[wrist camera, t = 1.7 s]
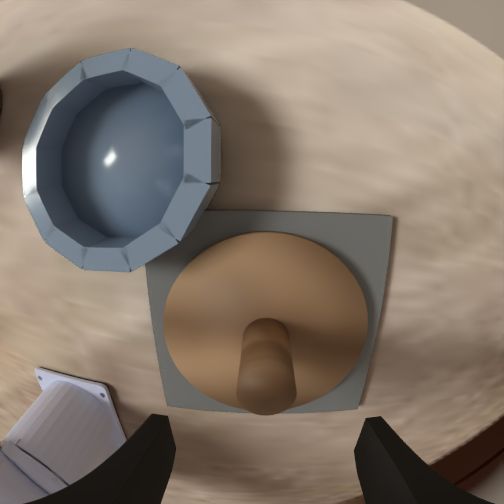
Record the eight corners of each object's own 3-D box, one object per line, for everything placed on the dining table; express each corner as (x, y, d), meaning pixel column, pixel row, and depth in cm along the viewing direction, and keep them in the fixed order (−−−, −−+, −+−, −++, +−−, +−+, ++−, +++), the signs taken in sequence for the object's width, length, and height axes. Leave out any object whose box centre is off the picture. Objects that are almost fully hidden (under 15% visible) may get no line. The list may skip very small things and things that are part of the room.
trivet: (356, 404, 20) (357, 409, 19) (168, 401, 20) (167, 406, 20) (389, 215, 16) (392, 216, 16) (145, 211, 17) (141, 212, 16)
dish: (222, 254, 17) (212, 275, 14) (63, 251, 17) (31, 266, 14) (223, 61, 14) (214, 36, 11) (60, 89, 15) (28, 79, 11)
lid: (347, 400, 19) (366, 461, 13) (178, 398, 19) (157, 458, 14) (375, 233, 16) (425, 262, 10) (158, 230, 16) (111, 258, 11)
